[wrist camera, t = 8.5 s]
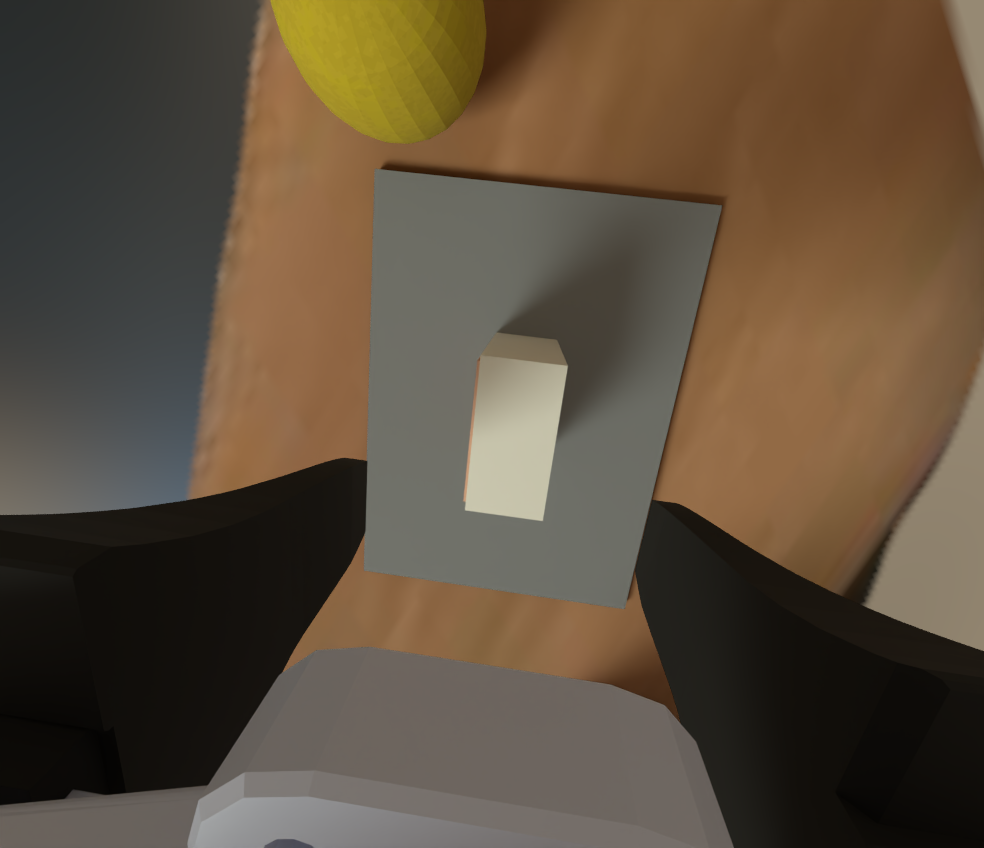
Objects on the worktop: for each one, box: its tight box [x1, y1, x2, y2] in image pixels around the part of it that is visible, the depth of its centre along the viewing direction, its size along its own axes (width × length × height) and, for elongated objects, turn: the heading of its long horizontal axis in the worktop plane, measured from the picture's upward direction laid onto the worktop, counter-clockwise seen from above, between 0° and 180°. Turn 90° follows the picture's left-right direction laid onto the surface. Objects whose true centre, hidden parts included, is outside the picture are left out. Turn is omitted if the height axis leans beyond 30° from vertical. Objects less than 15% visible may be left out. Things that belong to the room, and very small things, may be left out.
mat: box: [364, 169, 722, 609], centre depth 20 cm, size 18×13×1 cm
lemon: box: [271, 0, 486, 144], centre depth 13 cm, size 6×6×8 cm
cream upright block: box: [463, 332, 568, 521], centre depth 17 cm, size 3×5×6 cm, turn 174°
